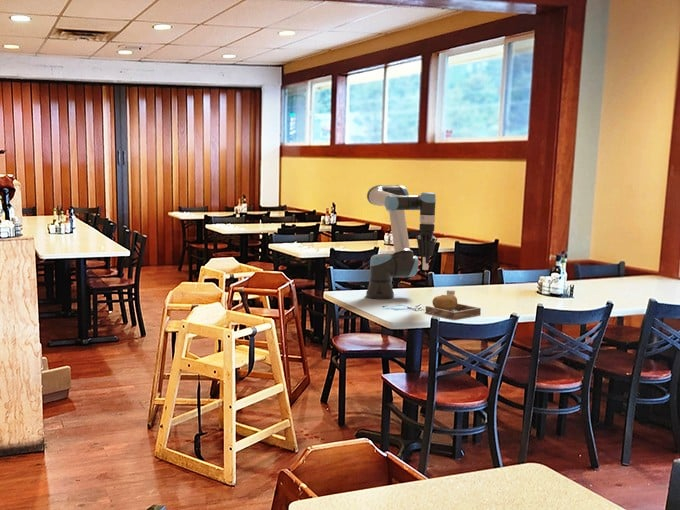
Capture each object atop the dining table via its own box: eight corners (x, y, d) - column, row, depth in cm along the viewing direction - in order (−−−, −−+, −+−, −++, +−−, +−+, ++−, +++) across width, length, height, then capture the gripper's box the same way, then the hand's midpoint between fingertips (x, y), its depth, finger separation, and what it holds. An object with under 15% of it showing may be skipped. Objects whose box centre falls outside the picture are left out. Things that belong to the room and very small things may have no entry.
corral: (425, 312, 347) (425, 306, 346) (451, 307, 359) (451, 302, 359) (454, 318, 333) (454, 312, 332) (480, 314, 345) (480, 308, 344)
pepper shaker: (444, 306, 363) (444, 290, 362) (449, 305, 366) (450, 289, 365) (450, 307, 360) (451, 291, 359) (455, 306, 362) (456, 290, 361)
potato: (426, 310, 351) (427, 294, 350) (448, 308, 358) (449, 292, 357) (439, 314, 343) (439, 298, 342) (461, 311, 350) (462, 295, 349)
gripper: (412, 222, 358) (410, 268, 361) (431, 224, 348) (429, 271, 351) (422, 222, 362) (421, 267, 365) (441, 224, 352) (439, 270, 356)
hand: (425, 269), depth 358 cm, fingers closed
